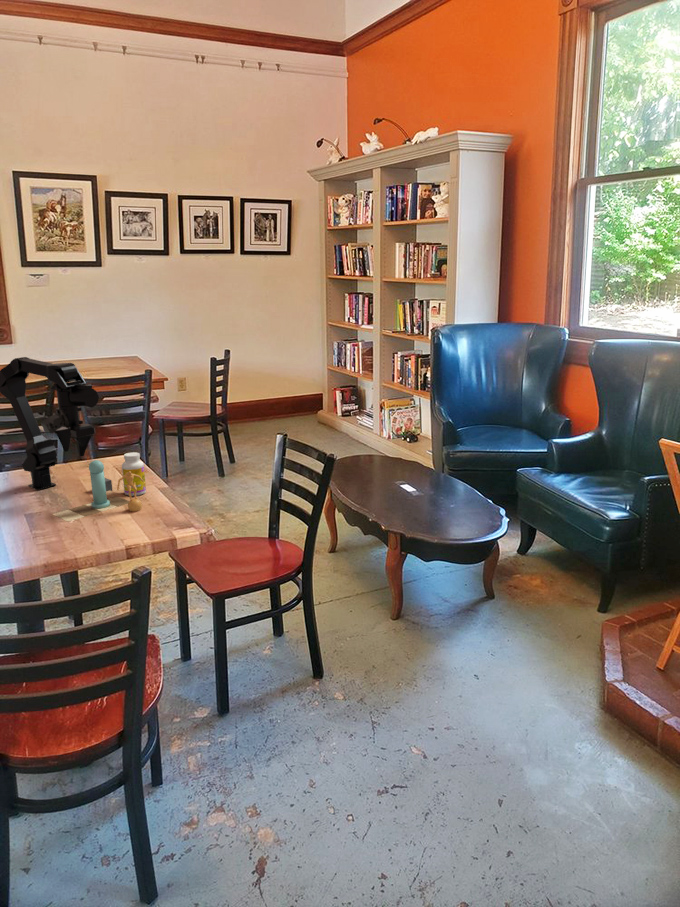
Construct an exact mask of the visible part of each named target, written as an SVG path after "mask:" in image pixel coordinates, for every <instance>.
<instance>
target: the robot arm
mask: <svg viewBox="0 0 680 907" xmlns="http://www.w3.org/2000/svg"><path fill="white" fill-rule="evenodd" d="M29 374H33V375H37V376H41V377H44V378H47V380H48V382H51V383H53V385H52V386H51V388H50V390H51V391H56V398H57V408H55V410H54V413H55V414H53V415H50V416H48V417H47V418H45V419H43V420H42V421H40V425H41V427H42V428H43V430H44V432H45V433H48V434H54V435H56V436H57V438H58V440H59V442H60V445H61V447H62V449H63V451H64V452H69V450H70V445H71V438H72V440H74V441H75V444H76V448H77V452H78V455H79V457H84V456H85V454H86V450H87V448H88V445H89V443H90V441H91V438H92V437H94V435H95V434H96V427H95V426H94V425H92V424H89V423H84V421H83V420H82V419H81V418H80V412H82V407H84V408H94V407H96V406H97V404H98V402H99V397H100V396H99V393H98V391H97V390H96V389H94V388H93V385H92V384H90V383H89V384H87V382H86V381H85V378H84V377H83V376H82V374H81V373H80V371H79V370H78V368H77V367H76V364H74V362H59V363H53V362H47V361H41V360H38V359H33V358H30V357H27V356H22V357H16V358H13V359H11V361H10V362H9V363H8V364H7V365H5V366H4V367H2V368H1V369H0V394H1V395H2V396H4V397H5V398H6V399H8V401H9V402H10V405H11V407H12V410H13V412H14V414H15V416H16V419H17V421H18V423H19V425H20V429H21V430H22V432H23V435H24V437H25V440H26V446H25V453H26V458H25V460H24V461H23V463H22V464H21V466H22V468H23V471H24V472H30V476H31V483H30V484H28V485H27V486H28V487H29V488H31V489H33V490H35V491H40V490H43V489H47V488H51V487H55V486H57V484H56V483H54V482H52V478H51V470H50V469H51V467H54V466H56V462H57V457H58V452H57V450H58V449H57V448H56V447H55V445H54V441H53V440H52V438H46V437H45V436H44V435H43V434H42V431H41V428H40V426H39V424H38V421H37V419H36V417H35V414H34V412H33V409H32V408H31V405H30V403H29V400H28V399H27V396H26V391H27V387H28V386H27V381H26V380H27V379H28V377H29Z"/></svg>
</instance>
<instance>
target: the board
mask: <svg viewBox="0 0 680 907" xmlns="http://www.w3.org/2000/svg"><path fill="white" fill-rule="evenodd" d="M107 500H109V501H110V506H108V507H106V508H101V509H95V508H92V506H91V503H92V502H89V503H86V504H82V505H79V506H75V507H72V508H69V509H66V510H60V511H58V512H54V513H52V514H51V515H53V516H55V517H57V518H59V519H60V520H63V521H65V522H67V523H69V522H72V521H75V520H79V519H82V518H85V517H88V516H92V515H95V514H99V513H101V512H105V511H109V510H111V509H114V508H117V507H121V506H125V505H128V503H129V501H130V500H128V499H125V498H123V497H119V496H117V495H114V496H109V497H107Z"/></svg>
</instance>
